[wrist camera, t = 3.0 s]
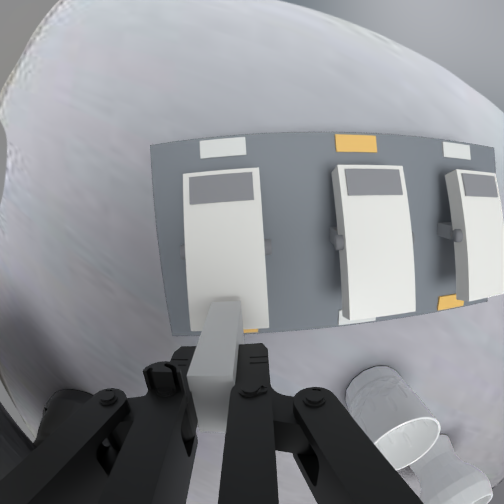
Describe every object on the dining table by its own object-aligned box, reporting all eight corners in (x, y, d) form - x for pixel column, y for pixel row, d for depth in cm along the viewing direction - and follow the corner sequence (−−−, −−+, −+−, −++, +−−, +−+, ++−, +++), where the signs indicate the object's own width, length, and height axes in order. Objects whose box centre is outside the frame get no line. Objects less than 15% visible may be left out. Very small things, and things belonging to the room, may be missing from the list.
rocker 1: (190, 326, 18) (183, 331, 16) (182, 181, 19) (175, 173, 17) (275, 322, 18) (276, 328, 16) (265, 175, 18) (266, 166, 17)
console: (185, 306, 28) (164, 347, 20) (170, 153, 25) (138, 142, 17) (454, 282, 27) (498, 308, 20) (457, 151, 24) (507, 146, 17)
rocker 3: (452, 300, 18) (466, 302, 16) (440, 174, 18) (453, 168, 16) (497, 291, 18) (511, 292, 16) (486, 178, 18) (499, 173, 16)
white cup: (332, 414, 31) (351, 477, 21) (350, 360, 29) (382, 422, 19) (389, 411, 31) (419, 466, 21) (411, 359, 29) (453, 412, 20)
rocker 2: (336, 316, 18) (344, 321, 16) (325, 172, 18) (331, 163, 17) (409, 307, 18) (422, 310, 16) (397, 173, 18) (408, 165, 17)
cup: (402, 478, 35) (429, 542, 20) (394, 451, 33) (428, 526, 18) (455, 448, 34) (491, 505, 19) (455, 416, 32) (502, 480, 17)
